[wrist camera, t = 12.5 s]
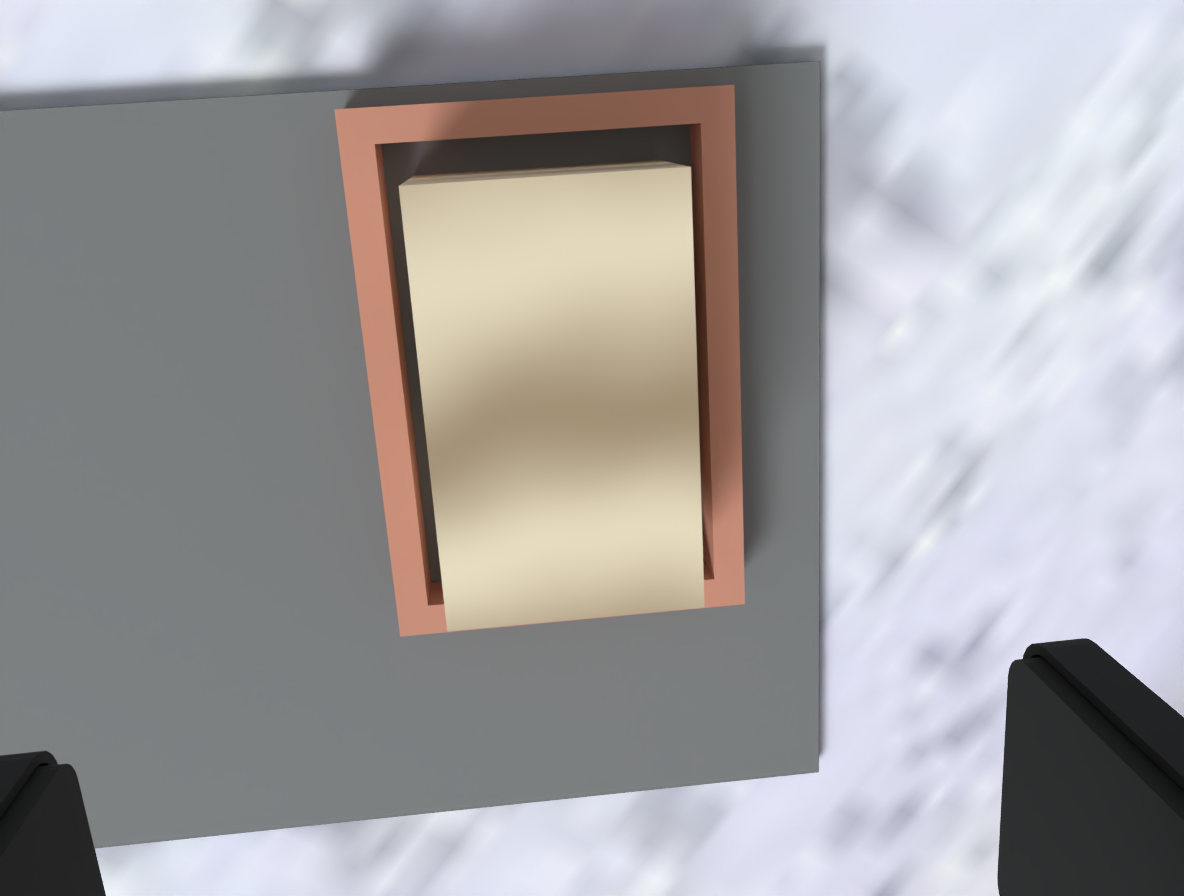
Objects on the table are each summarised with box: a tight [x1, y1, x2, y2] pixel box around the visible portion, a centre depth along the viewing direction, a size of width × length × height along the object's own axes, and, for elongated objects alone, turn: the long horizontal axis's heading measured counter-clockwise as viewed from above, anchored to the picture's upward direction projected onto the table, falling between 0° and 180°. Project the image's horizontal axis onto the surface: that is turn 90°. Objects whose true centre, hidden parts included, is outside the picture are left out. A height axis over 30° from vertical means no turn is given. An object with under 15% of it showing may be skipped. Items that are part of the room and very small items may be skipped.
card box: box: [399, 160, 705, 631], centre depth 26 cm, size 10×6×4 cm, turn 3°
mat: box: [0, 61, 820, 848], centre depth 28 cm, size 25×20×2 cm
